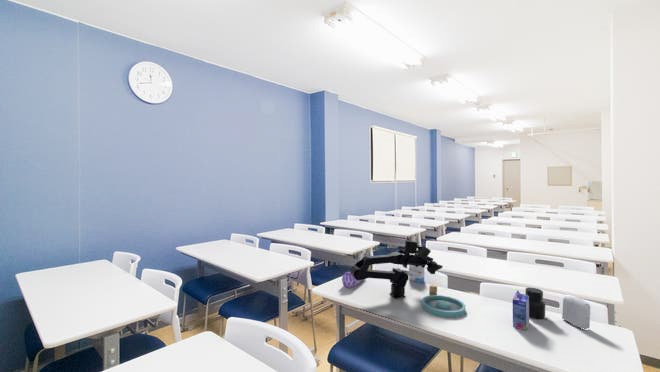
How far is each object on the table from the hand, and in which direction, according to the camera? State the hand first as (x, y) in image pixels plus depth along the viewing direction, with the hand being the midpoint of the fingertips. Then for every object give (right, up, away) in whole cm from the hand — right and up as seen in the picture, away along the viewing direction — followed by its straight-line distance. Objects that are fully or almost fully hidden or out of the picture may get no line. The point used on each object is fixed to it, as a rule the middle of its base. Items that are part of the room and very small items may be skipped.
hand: (437, 263), depth 170 cm
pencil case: (-46, -16, +13) cm, 51 cm away
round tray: (-5, -17, -21) cm, 28 cm away
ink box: (-7, -16, +18) cm, 25 cm away
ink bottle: (+35, -17, -29) cm, 49 cm away
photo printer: (+48, -18, -38) cm, 63 cm away
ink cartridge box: (+23, -18, -38) cm, 48 cm away
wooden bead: (-4, -16, -4) cm, 17 cm away
